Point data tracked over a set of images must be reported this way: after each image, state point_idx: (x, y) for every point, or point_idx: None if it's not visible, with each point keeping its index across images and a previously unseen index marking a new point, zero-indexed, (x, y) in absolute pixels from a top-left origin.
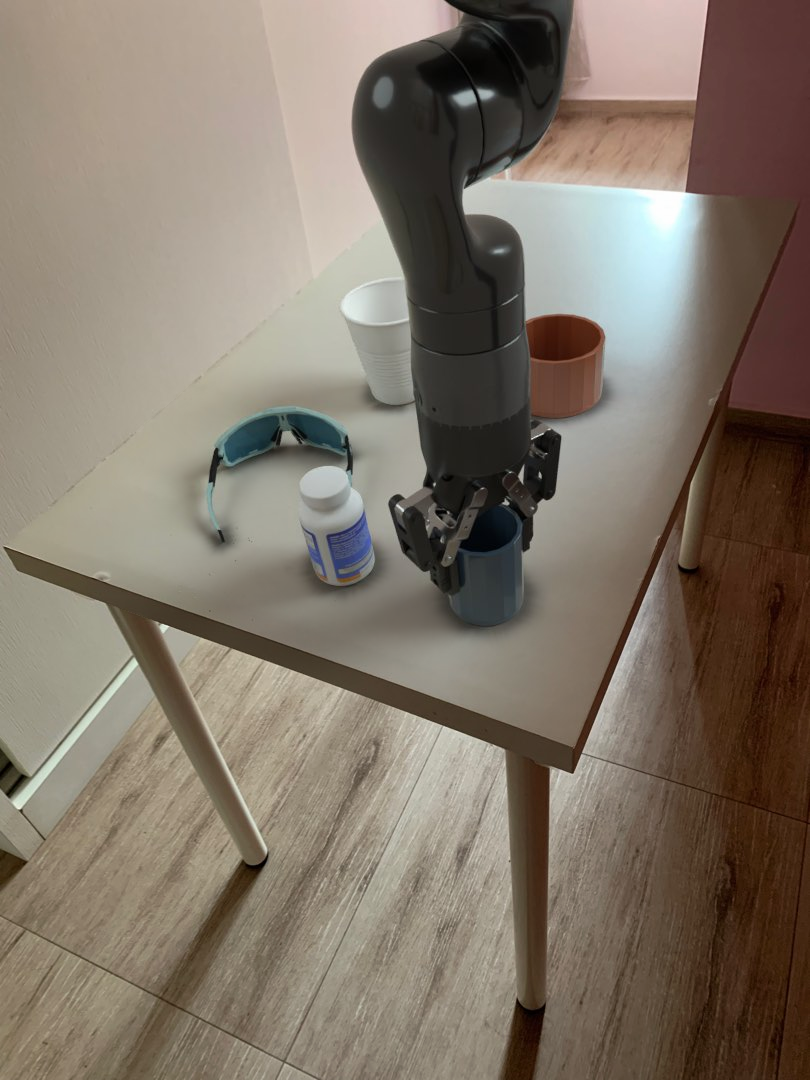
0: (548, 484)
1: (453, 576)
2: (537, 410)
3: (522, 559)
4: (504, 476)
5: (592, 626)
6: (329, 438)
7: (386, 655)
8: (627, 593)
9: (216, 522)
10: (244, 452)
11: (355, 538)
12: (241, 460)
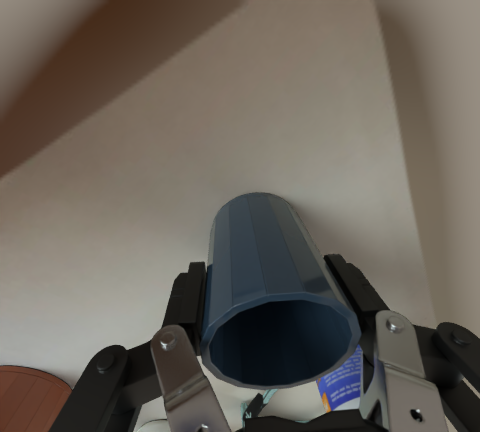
0: (95, 401)
1: (356, 283)
2: (53, 386)
3: (221, 253)
4: None
5: (171, 112)
6: None
7: (390, 230)
8: (87, 129)
9: None
10: None
11: (359, 369)
12: (307, 421)
